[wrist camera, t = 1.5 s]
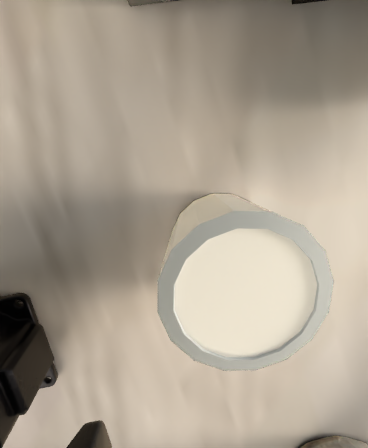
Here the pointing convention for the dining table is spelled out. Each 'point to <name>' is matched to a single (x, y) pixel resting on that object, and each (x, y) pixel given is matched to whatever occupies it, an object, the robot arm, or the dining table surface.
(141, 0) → the door handle
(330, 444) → the spray can
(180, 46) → the dining table surface
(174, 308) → the white cup
